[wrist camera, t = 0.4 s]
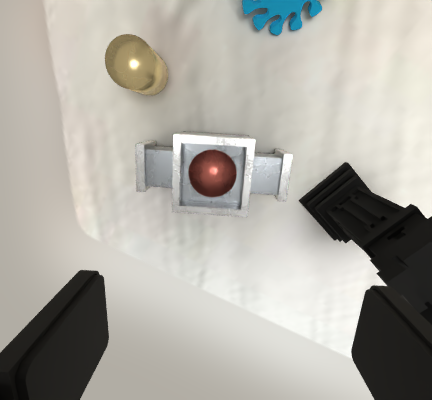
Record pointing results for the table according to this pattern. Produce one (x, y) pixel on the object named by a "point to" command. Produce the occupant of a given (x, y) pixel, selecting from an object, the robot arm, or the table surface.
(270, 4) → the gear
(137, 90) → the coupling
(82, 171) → the table surface
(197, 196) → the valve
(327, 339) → the table surface
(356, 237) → the chess piece
